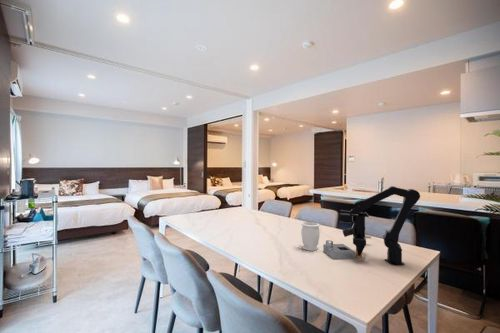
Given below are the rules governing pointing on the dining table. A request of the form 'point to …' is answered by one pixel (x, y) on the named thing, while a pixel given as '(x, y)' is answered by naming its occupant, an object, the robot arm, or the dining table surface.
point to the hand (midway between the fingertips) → (359, 252)
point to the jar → (310, 235)
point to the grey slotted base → (338, 250)
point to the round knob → (357, 254)
